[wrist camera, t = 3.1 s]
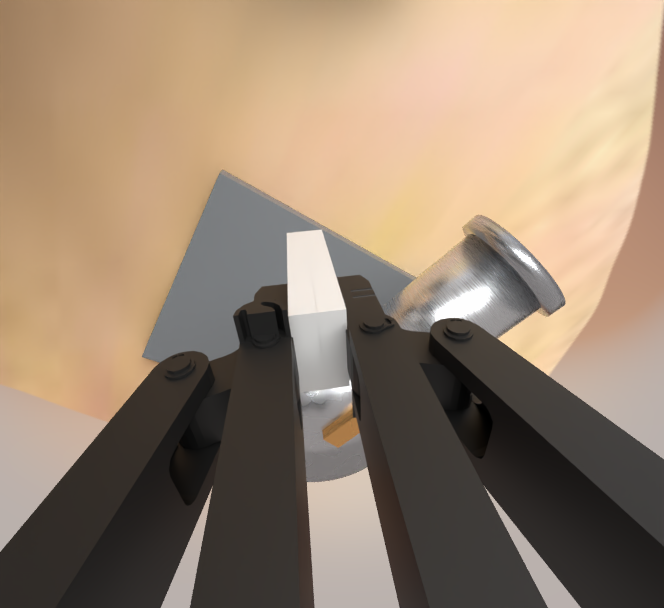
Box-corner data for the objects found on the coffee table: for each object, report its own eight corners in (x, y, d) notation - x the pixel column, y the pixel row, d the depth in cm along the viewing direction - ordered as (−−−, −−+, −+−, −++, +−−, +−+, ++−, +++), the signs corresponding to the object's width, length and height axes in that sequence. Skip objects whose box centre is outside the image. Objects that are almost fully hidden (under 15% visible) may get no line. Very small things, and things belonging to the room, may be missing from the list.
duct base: (147, 347, 27) (109, 415, 21) (222, 169, 21) (199, 195, 15) (368, 419, 36) (385, 482, 30) (468, 307, 29) (516, 358, 23)
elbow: (316, 432, 26) (324, 512, 21) (228, 382, 22) (212, 465, 17) (516, 282, 21) (591, 340, 16) (447, 185, 17) (517, 219, 12)
